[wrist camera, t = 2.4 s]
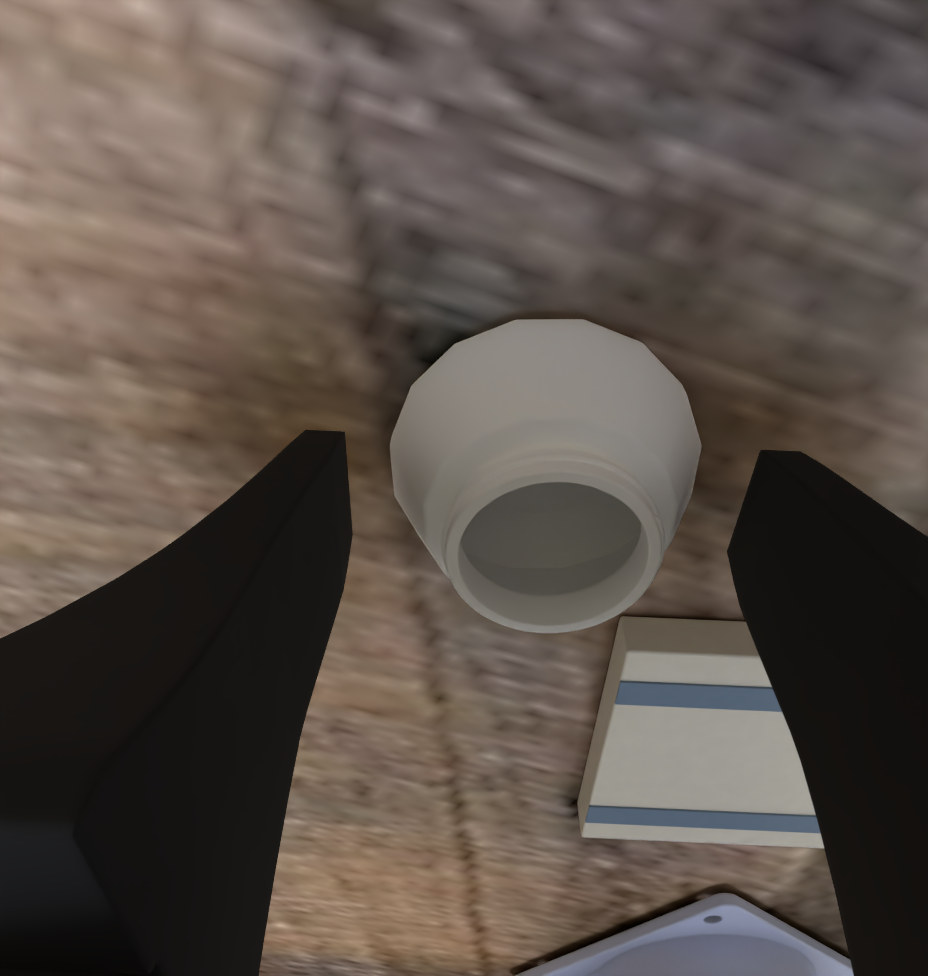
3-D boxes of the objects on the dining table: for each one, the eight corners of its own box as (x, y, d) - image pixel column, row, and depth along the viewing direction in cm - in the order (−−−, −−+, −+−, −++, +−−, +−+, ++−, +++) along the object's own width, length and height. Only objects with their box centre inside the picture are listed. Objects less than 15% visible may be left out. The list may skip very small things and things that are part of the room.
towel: (955, 818, 19) (977, 858, 18) (576, 801, 19) (580, 840, 18) (1104, 636, 15) (1142, 677, 14) (619, 614, 15) (627, 654, 14)
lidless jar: (465, 583, 14) (716, 508, 13) (461, 705, 12) (766, 629, 11) (343, 377, 12) (643, 257, 10) (306, 481, 9) (688, 342, 8)
